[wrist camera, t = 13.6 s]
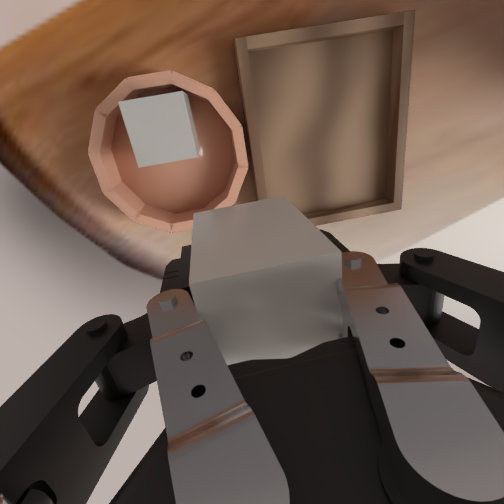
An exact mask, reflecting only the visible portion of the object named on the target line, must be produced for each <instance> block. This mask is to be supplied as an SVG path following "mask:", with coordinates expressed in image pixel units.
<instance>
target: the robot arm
mask: <svg viewBox="0 0 504 504" xmlns="http://www.w3.org/2000/svg"><path fill="white" fill-rule="evenodd" d="M320 231H321V232H322V233H323V234H324V235H325V236H326V237H327V238H328V239H329V240H330V241H331V242H332V243H333V244H334V245H335V246H336V247H337V248H338V249H339V250H340V251H341V252H342V278H338V279H337V294H338V298H339V302H340V306H341V311H342V320H343V333H342V334H339V339H336V340H332V341H328V342H323V343H321V344H319V345H317V346H315V347H313V348H311V349H309V350H307V351H304V352H302V353H300V354H298V355H296V356H294V357H291V358H284V359H255V360H247V361H243V362H239V363H235V364H231V365H227V364H226V362H225V360H224V358H223V356H222V354H221V352H220V350H219V348H218V346H217V344H216V342H215V340H214V338H213V336H212V333H211V331H210V329H209V327H208V325H207V323H206V321H205V320H204V318H203V319H201V318H200V316H199V314H198V312H197V310H196V307H195V304H194V300H193V297H192V293H191V290H190V286H189V275H190V260H191V245H188V246H183V247H182V252H181V258H179V259H175V260H172V261H171V262H170V263H169V264H168V265H167V266H166V268H165V273H164V277H163V282H162V287H161V291H160V294H158V295H156V296H154V297H153V298H152V299H151V300H150V301H149V302H148V304H147V313H146V314H145V315H143V316H141V317H139V318H136V319H134V320H132V321H129V322H127V323H124V324H123V322H122V320H121V318H120V317H119V316H117V315H113V314H109V315H103V316H99V317H97V318H94V319H92V320H90V321H88V322H87V323H85V324H83V325H82V326H81V327H80V328H79V329H77V331H75V332H74V333H73V335H71V337H69V339H67V340H66V342H64V344H63V345H62V346H61V347H60V348H59V349H58V350H57V351H56V352H55V353H54V354H53V355H52V356H51V357H50V358H49V359H48V360H47V361H46V362H45V363H44V364H43V365H42V366H41V367H40V368H39V369H38V370H37V371H36V372H35V373H34V374H33V375H32V376H31V377H30V378H29V379H28V380H27V381H26V382H25V383H24V384H23V385H22V386H21V387H20V388H19V389H18V390H17V391H16V392H15V393H14V394H13V395H12V396H11V397H10V398H9V399H8V400H7V401H6V402H5V403H4V404H3V405H2V406H1V407H0V504H86V503H87V501H88V499H89V497H90V495H91V494H92V492H93V490H94V488H95V486H96V485H97V483H98V481H99V479H100V477H101V475H102V474H103V472H104V470H105V468H106V466H107V464H108V463H109V461H110V459H111V457H112V455H113V454H114V452H115V450H116V448H117V446H118V445H119V443H120V441H121V439H122V437H123V435H124V434H125V432H126V430H127V428H128V426H129V424H130V423H131V421H132V419H133V417H134V415H135V413H136V412H137V409H138V408H139V406H140V404H141V402H142V401H143V399H144V397H145V395H146V394H147V391H148V388H149V384H151V383H153V382H155V381H157V383H158V389H159V394H160V400H161V405H162V411H163V416H164V421H165V429H164V430H163V432H162V433H161V434H160V436H159V437H158V438H157V440H156V441H155V442H154V444H153V445H152V446H151V448H150V449H149V451H148V452H147V453H146V455H145V456H144V457H143V459H142V460H141V461H140V463H139V464H138V465H137V467H136V468H135V469H134V471H133V472H132V474H131V475H130V476H129V478H128V479H127V480H126V482H125V483H124V484H123V486H122V487H121V489H120V490H119V491H118V492H117V494H116V495H115V496H114V498H113V499H112V500H111V502H110V503H109V504H504V272H501V271H498V270H495V269H492V268H489V267H486V266H483V265H480V264H477V263H474V262H470V261H468V260H464V259H461V258H459V257H455V256H452V255H449V254H446V253H443V252H440V251H437V250H433V249H427V248H414V249H409V250H406V251H404V252H403V253H401V255H400V264H377V263H376V262H375V260H374V258H373V257H372V256H370V255H369V254H366V253H363V252H354V251H352V252H350V251H349V250H348V249H347V248H346V247H345V246H344V245H343V244H341V243H339V241H338V240H337V239H335V237H334V236H333V235H332V234H330V233H329V232H326V231H323V230H321V229H320ZM444 295H445V296H447V297H450V298H452V299H454V300H456V301H459V302H461V303H463V304H465V305H468V306H470V307H471V308H473V309H474V310H475V311H476V312H477V313H478V315H479V316H480V319H481V323H480V328H479V329H477V328H475V327H473V326H471V325H469V324H467V323H465V322H462V321H461V320H458V319H456V318H455V317H453V316H451V315H448V314H446V313H444V312H442V308H443V300H444ZM446 359H447V360H448V361H450V362H451V363H453V364H455V365H456V366H458V367H459V368H461V369H463V370H464V371H466V372H468V373H469V374H471V375H473V376H474V377H476V378H477V379H479V380H480V381H482V382H484V383H485V384H487V385H489V386H490V387H489V386H486V385H484V384H482V383H479V382H477V381H474V380H472V379H470V378H467V377H466V376H464V375H463V374H462V373H459V372H456V371H454V370H453V369H452V368H451V367H450V365H449V364H448V362H447V360H446ZM94 381H95V382H96V383H97V385H98V387H99V390H98V391H97V393H96V394H95V396H94V397H93V398H92V400H91V401H90V403H89V404H88V405H87V407H86V408H85V410H84V411H83V412H82V414H81V415H80V416H79V417H78V406H79V403H80V401H81V399H82V397H83V396H84V394H85V393H86V392H87V390H88V389H89V388H90V386H91V385H92V384H93V382H94ZM491 387H492V388H491Z"/></svg>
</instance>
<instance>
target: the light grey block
mask: <svg viewBox="0 0 504 504" xmlns="http://www.w3.org/2000/svg"><path fill="white" fill-rule="evenodd" d="M118 104H119V107H120V110H121V113H122V116H123V120H124V123H125V126H126V129H127V132H128V135H129V139H130V142H131V145H132V148H133V151H134V155H135V158H136V161H137V164H138V167H139V168H140V167H146V166H152V165H157V164H163V163H168V162H174V161H179V160H185V159H190V158H196V157H198V155H199V151H200V144H199V139H198V135H197V130H196V126H195V121H194V117H193V112H192V108H191V103H190V99H189V96H188V95H187V94H186V93H185V92H184V91H179V92H173V93H167V94H161V95H155V96H149V97H143V98H137V99H131V100H125V101H119V102H118Z"/></svg>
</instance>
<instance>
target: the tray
mask: <svg viewBox="0 0 504 504" xmlns="http://www.w3.org/2000/svg"><path fill="white" fill-rule="evenodd" d="M414 16H415V10H411V11H405V12H399V13H392V14H386V15H379V16H373V17H367V18H360V19H354V20H348V21H341V22H335V23H329V24H322V25H316V26H309V27H303V28H297V29H290V30H284V31H278V32H271V33H265V34H259V35H252V36H246V37H239V38H235V40H234V43H233V45H234V52H235V58H236V65H237V72H238V79H239V85H240V92H241V99H242V105H243V112H244V119H245V126H246V132H247V139H248V146H249V152H250V159H251V166H252V173H253V179H254V186H255V193H256V199H257V201H259V200H264V199H269V198H274V197H279V196H285V197H286V198H287V199H288V200H289V201H290V202H291V203H292V204H293V205H294V206H295V207H296V208H297V209H298V210H299V211H300V212H301V213H302V214H303V215H304V216H305V217H306V218H307V219H308V220H309V221H310V222H312V223H313V224H314V225H315V226H316V225H322V224H327V223H332V222H337V221H343V220H348V219H353V218H358V217H363V216H369V215H374V214H379V213H384V212H390V211H395V210H400V209H401V206H402V192H403V177H404V162H405V148H406V133H407V118H408V104H409V89H410V74H411V60H412V45H413V31H414Z"/></svg>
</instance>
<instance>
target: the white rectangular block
mask: <svg viewBox="0 0 504 504" xmlns="http://www.w3.org/2000/svg"><path fill="white" fill-rule="evenodd" d="M338 278H342V252H341V251H340V250H339V249H338V248H337V247H336V246H335V245H334V244H333V243H332V242H331V241H330V240H329V239H328V238H327V237H326V236H325V235H324V234H323V233H322V232H321V231H320V230H319V229H318V228H317V227H316V226H315V225H314V224H313V223H312V222H310V221H309V220H308V219H307V218H306V217H305V216H304V215H303V214H302V213H301V212H300V211H299V210H298V209H297V208H296V207H295V206H294V205H293V204H292V203H291V202H290V201H289V200H288V199H287V198H286V197H285V196H279V197H274V198H269V199H264V200H259V201H254V202H249V203H243V204H238V205H233V206H228V207H223V208H218V209H213V210H208V211H203V212H198V213H194V215H193V230H192V245H191V260H190V275H189V286H190V290H191V293H192V297H193V300H194V304H195V307H196V310H197V312H198V314H199V316H200V318H201V319H203V318H204V320H205V321H206V323H207V325H208V327H209V329H210V331H211V333H212V336H213V338H214V340H215V342H216V344H217V346H218V348H219V350H220V352H221V354H222V356H223V358H224V360H225V362H226V364H227V365H231V364H235V363H239V362H243V361H247V360H255V359H284V358H291V357H294V356H296V355H298V354H300V353H302V352H304V351H307V350H309V349H311V348H313V347H315V346H317V345H319V344H321V343H323V342H328V341H332V340H336V339H339V334H342V333H343V320H342V311H341V306H340V302H339V298H338V294H337V279H338Z"/></svg>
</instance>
